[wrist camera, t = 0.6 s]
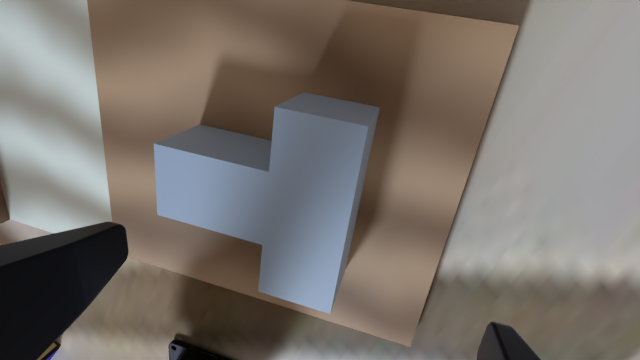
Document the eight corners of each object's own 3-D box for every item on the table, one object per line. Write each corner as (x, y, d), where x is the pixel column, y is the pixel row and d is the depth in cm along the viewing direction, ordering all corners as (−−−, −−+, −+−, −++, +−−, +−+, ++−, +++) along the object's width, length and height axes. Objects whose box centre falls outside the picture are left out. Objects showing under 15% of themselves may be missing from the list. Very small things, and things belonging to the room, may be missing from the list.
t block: (345, 268, 22) (330, 313, 19) (199, 226, 24) (159, 260, 20) (379, 107, 18) (368, 126, 14) (200, 71, 20) (150, 80, 16)
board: (410, 332, 24) (407, 385, 21) (14, 209, 30) (-41, 233, 27) (513, 25, 16) (537, 24, 13) (-50, -57, 22) (-140, -74, 19)
